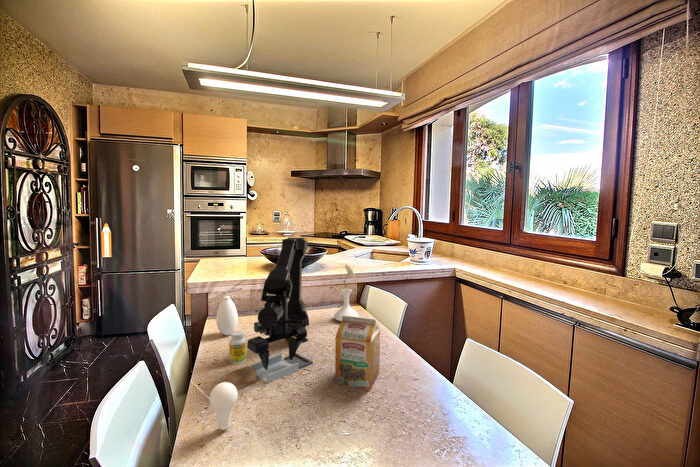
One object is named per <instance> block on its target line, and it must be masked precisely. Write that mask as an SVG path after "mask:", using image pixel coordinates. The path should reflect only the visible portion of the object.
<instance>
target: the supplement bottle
mask: <svg viewBox="0 0 700 467" xmlns="http://www.w3.org/2000/svg"><path fill="white" fill-rule="evenodd" d="M244 334H245V332H244V331H243V330H235V331H234V332H232V333H231V334H230V340H229V341H228V346H229V349H228V350H229V362H230V363H231V364H236V365H237V364H242V363H245V361H247V359H248V358H247V338H246V337H244V336H245V335H244Z"/></svg>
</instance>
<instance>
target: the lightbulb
mask: <svg viewBox="0 0 700 467" xmlns="http://www.w3.org/2000/svg"><path fill="white" fill-rule="evenodd" d="M238 392H239V391H238V390H237V389H236V387H235V386H234V385H233V384H231V383H229V382H226V381H223V382H220V383H218V384H216V385H215V386H214V387H213V388H212V390H211V391H210V393H209V398H208V399H209V404H210V407H212V410H214V412H215V414H216V420H217V423H218V425H217V426H218V429H219V430H221V431H225V430H227V429H229V428H230V426H231V419H232V412H233V409H234V406H235V405H236V403H237V401H238V398H239V393H238Z"/></svg>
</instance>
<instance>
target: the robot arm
mask: <svg viewBox="0 0 700 467" xmlns="http://www.w3.org/2000/svg"><path fill="white" fill-rule="evenodd" d="M308 248H309V242H308V240H307V239H306V238H305V237H287V238H284V239H282V242H281V248H280V249H281V250H280V252H279V255H278V258H277V262H276V265H275V268H273V269H272V270H270V271H269V273H268V274H267V277H266V279H265V280H264V284H263V288H262V293H261V297H260V301H261V302H265V303H264V305H263V306H264V307H263V308H261V309H260V311H259V312H258V315H257V321H256V322H254V323H253V331H254V332H255V333H259V334H260V335H262V334H264V335H265V336H267V337H266V338H265V337H264V338H263V337H262V336H260V335H259V336H254V337H252V338H249V339H248V341H246V349H248V350H249V351H250V352H253V353H254V354H257V355H258V356H259V359H260V361H262V364H263V366H264V369H265V370H267V369H268V362H269V358H270V350H268V349H269V346H270V345H271V344H274V343H277V342H280V341H283V340H284V341H286V342H288V356H289V359H290V360H292V359H293V357H294V355H295V353H297V352H298V349H299V347H300V345H301V344H303V343H304V342H308V341H309V338H307V337H308V330H307V327H308V326H309V325H310V319H309V318H310V317H309V314H308V312H307V310H306V304H305V303H304V301H303V299H302V281H303V280H302V274H303V273H302V272H303V268H302V267H303V265H302V262H303V260H304V258H305V256H306V254H307V251H308Z"/></svg>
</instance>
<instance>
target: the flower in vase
mask: <svg viewBox="0 0 700 467" xmlns="http://www.w3.org/2000/svg"><path fill="white" fill-rule="evenodd" d="M344 267H345V270H346V272H347V274H346V276H345V279H344V280H343V283H344V288H342V289H340V291H341V293H342V295H343V306H342V307H341V308H339V309H338V310H336V312H335V313H334V314H333V318H334V319H335V320H336V321H338V322H341V321H342V316H343V315H346V316H354V317H360V316H359V314H358V312H357V311H355V310H354V309H353V308H352V307H351V306H350V295H351V293H352V291H353V289H351V288H347V287H348V286H349V285H351V284H350V283H348V284H346V280H347V278H348V276H350V277H351V278H352V279H353V280H356V274H355V273H354V270H353V269H352V268H351V267H350V265H348V264H345V265H344Z"/></svg>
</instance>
